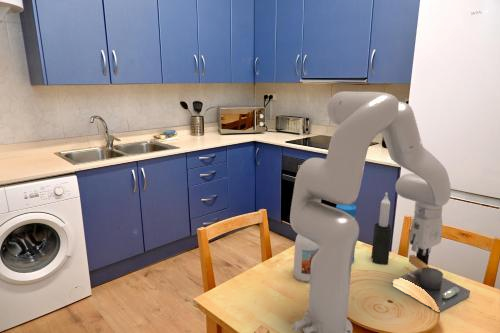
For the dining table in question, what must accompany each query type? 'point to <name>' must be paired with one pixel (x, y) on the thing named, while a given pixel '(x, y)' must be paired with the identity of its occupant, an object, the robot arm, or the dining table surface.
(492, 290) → the dining table surface
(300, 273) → the milk bottle
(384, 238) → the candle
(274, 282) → the dining table surface
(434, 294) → the base
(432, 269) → the grey rubber mallet
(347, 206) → the beverage bottle
